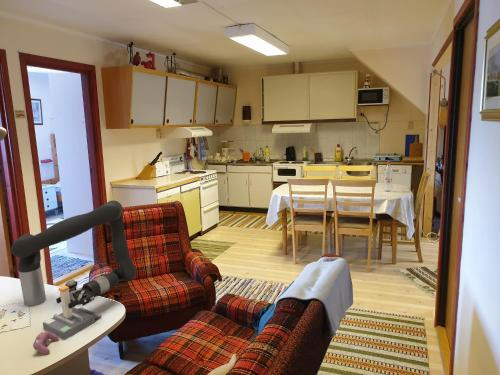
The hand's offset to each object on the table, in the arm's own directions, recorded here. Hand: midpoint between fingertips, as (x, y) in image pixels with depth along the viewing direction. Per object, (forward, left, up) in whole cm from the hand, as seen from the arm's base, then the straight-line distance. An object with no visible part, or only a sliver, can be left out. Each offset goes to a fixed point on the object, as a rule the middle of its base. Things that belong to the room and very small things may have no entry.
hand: (62, 303), depth 156 cm
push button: (-18, +14, -11) cm, 26 cm away
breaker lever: (0, +1, -8) cm, 8 cm away
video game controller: (+6, -12, -11) cm, 17 cm away
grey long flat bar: (0, +10, -11) cm, 15 cm away
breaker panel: (0, +2, -11) cm, 11 cm away
